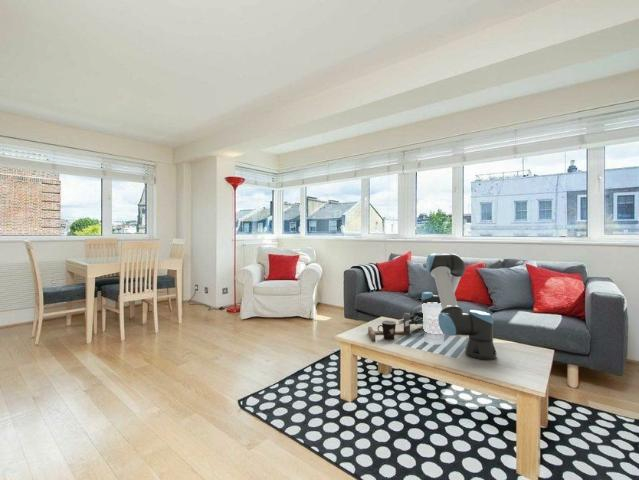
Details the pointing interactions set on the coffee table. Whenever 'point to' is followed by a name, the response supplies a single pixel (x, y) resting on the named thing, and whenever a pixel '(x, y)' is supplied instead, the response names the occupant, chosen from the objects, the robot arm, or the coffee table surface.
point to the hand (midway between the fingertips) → (402, 323)
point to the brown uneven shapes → (406, 331)
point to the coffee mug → (388, 329)
